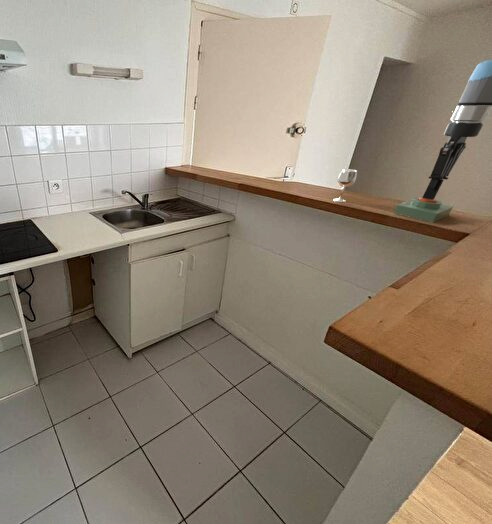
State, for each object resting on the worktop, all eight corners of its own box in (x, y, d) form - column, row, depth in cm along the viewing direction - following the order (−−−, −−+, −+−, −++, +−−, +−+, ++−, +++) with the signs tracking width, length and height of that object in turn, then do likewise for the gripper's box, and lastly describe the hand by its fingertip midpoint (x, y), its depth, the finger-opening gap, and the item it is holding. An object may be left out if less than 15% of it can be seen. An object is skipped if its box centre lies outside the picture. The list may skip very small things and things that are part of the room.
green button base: (410, 207, 107) (416, 194, 104) (448, 215, 99) (456, 201, 96) (392, 213, 101) (399, 199, 98) (432, 222, 92) (440, 208, 90)
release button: (420, 202, 101) (422, 196, 100) (435, 205, 97) (438, 199, 96) (414, 204, 99) (417, 198, 98) (430, 207, 95) (433, 201, 94)
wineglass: (335, 202, 112) (346, 171, 106) (328, 198, 117) (338, 168, 111) (350, 202, 112) (362, 171, 106) (342, 198, 117) (353, 168, 111)
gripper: (457, 121, 91) (422, 193, 103) (441, 122, 85) (406, 198, 97) (490, 122, 85) (449, 198, 97) (476, 123, 80) (434, 204, 91)
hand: (428, 198), depth 97 cm, fingers closed
